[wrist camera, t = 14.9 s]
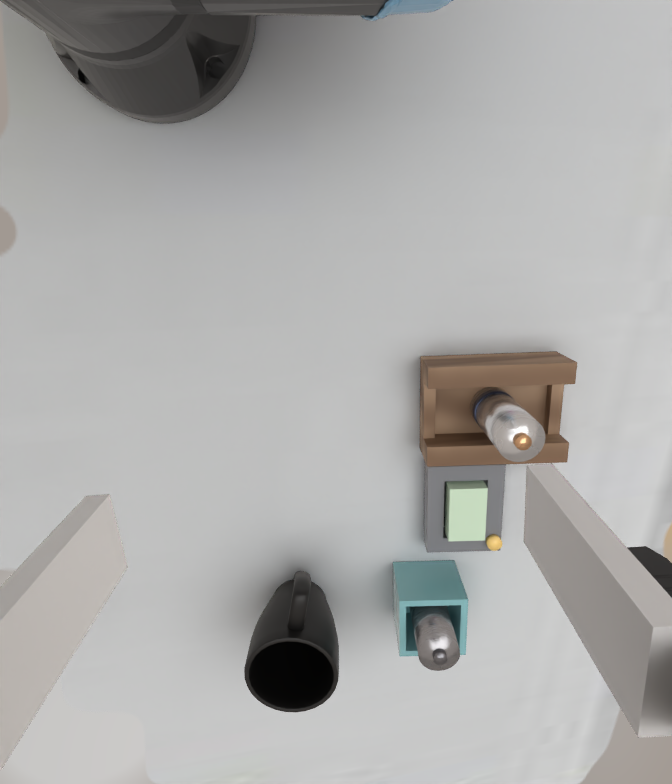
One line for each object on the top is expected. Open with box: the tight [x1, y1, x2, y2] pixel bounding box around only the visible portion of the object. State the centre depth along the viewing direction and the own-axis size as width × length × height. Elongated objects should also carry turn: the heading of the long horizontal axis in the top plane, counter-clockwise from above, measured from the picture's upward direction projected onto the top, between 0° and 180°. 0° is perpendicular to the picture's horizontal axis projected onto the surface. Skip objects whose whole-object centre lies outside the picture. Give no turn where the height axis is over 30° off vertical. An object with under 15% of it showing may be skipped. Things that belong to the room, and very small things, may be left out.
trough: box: [420, 352, 577, 467], centre depth 44 cm, size 9×12×4 cm
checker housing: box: [424, 463, 506, 552], centre depth 48 cm, size 9×7×3 cm
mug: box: [245, 571, 339, 712], centre depth 48 cm, size 8×12×10 cm
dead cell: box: [409, 606, 460, 671], centre depth 47 cm, size 4×4×9 cm
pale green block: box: [445, 480, 488, 542], centre depth 47 cm, size 5×3×2 cm, turn 2°
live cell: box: [470, 387, 545, 462], centre depth 41 cm, size 4×4×9 cm
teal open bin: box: [393, 560, 468, 656], centre depth 49 cm, size 6×6×6 cm
